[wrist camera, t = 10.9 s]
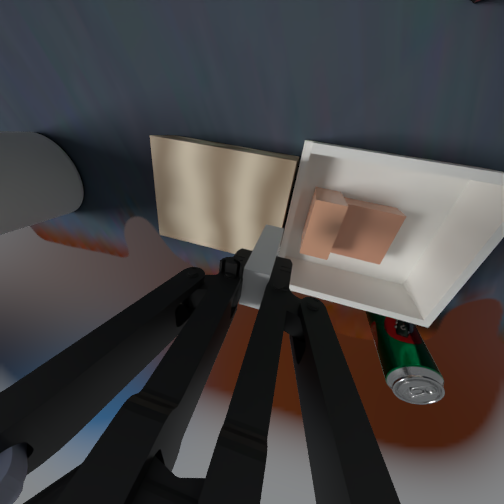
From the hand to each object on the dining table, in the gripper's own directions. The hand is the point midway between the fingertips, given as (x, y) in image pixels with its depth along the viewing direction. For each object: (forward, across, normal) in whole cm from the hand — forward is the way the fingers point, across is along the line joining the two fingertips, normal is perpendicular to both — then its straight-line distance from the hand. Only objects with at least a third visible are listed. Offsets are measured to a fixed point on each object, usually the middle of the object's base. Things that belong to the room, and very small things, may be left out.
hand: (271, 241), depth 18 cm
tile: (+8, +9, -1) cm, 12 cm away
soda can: (+11, +17, -12) cm, 24 cm away
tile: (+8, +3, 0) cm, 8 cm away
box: (+12, +10, 0) cm, 15 cm away
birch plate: (+12, -8, 0) cm, 14 cm away
